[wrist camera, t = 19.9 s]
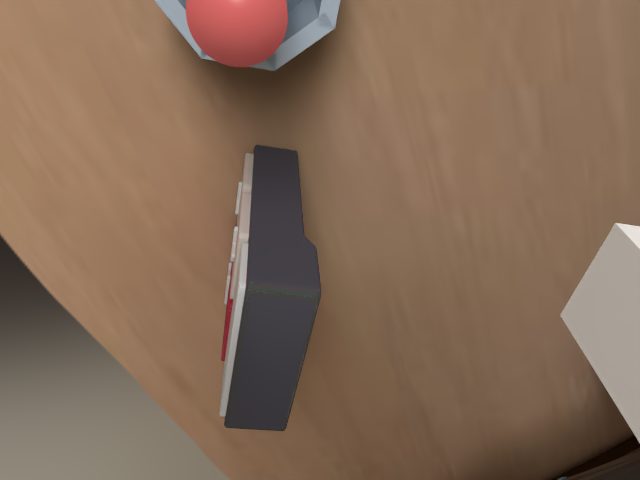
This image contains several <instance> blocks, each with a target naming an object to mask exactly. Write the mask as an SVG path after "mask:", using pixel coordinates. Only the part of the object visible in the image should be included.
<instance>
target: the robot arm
mask: <svg viewBox="0 0 640 480" xmlns="http://www.w3.org/2000/svg"><path fill="white" fill-rule="evenodd" d="M560 316H561V317H562V319H563V321H564V322H565V324H566V325H567V327H568V329H569V330H570V332H571V333H572V335H573V337H574V338H575V340H576V341H577V343H578V345H579V346H580V348H581V350H582V351H583V353H584V354H585V356H586V358H587V359H588V361H589V362H590V364H591V366H592V367H593V369H594V370H595V372H596V374H597V375H598V377H599V378H600V380H601V382H602V383H603V385H604V387H605V388H606V390H607V391H608V393H609V395H610V396H611V398H612V399H613V401H614V403H615V404H616V406H617V407H618V409H619V411H620V412H621V414H622V415H623V417H624V419H625V420H626V422H627V424H628V425H629V427H630V428H631V430H632V432H633V433H634V435H635V436H636V438H637V440H638V441H639V443H640V226H633V225H626V224H619V223H615V224H614V226H613V228H612V229H611V231H610V233H609V234H608V236H607V238H606V239H605V241H604V243H603V244H602V246H601V248H600V249H599V251H598V253H597V254H596V256H595V258H594V260H593V261H592V263H591V265H590V266H589V268H588V270H587V271H586V273H585V275H584V276H583V278H582V280H581V281H580V283H579V285H578V286H577V288H576V290H575V291H574V293H573V295H572V296H571V298H570V300H569V301H568V303H567V305H566V306H565V308H564V310H563V311H562V313H561V315H560ZM557 480H640V451H638V452H635V453H633V454H630V455H627V456H625V457H622V458H620V459H617V460H614V461H612V462H609V463H606V464H604V465H601V466H598V467H596V468H593V469H590V470H588V471H585V472H582V473H579V474H576V475H574V476H571V477H568V478H567V477H561V478H559V479H557Z"/></svg>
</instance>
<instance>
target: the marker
mask: <svg viewBox="0 0 640 480" xmlns="http://www.w3.org/2000/svg"><path fill="white" fill-rule="evenodd" d="M186 19H187V24H188V27H189V30H190V33H191V35H192V37H193V39H194V40H195V42H196V43H197V45H198V46H199V47H200V48H201V50H202V51H203V52H204V53H206V54H207V55H208V56H209V57H211V58H212V59H214V60H215V61H217V62H219V63H222V64H224V65H228V66H233V67H249V66H253V65H256V64H259V63H261V62H263V61H265V60H266V59H268V58H269V57H270V56H271V55H272V54H273V53H274V52H275V51H276V50H277V49H278V48H279V46H280V44H281V43H282V41H283V39H284V36H285V33H286V30H287V24H288V12H287V2H286V0H187V1H186Z"/></svg>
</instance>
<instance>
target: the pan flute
mask: <svg viewBox="0 0 640 480" xmlns="http://www.w3.org/2000/svg"><path fill="white" fill-rule="evenodd" d="M638 451H640V443H639V441H638V440H637V438H636V436H635V437H633V438H631V439H629V440H627V441H625V442H623V443H622V444H620V445H618V446H616V447H614V448H612V449H610V450H608V451H607V452H605V453H603V454H601V455H599V456H597V457H595V458H593V459H592V460H590V461H588V462H586V463H584V464H582V465H580V466H579V467H577V468H575V469H573V470H571V471H569V472H567V473H565V474H564V475H562V476H560V477H558V478H556V479H554V480H557V479H559V478H561V477H567V478H568V477H571V476H574V475H576V474H579V473H582V472H585V471H588V470H590V469H593V468H596V467H598V466H601V465H604V464H606V463H609V462H612V461H614V460H617V459H620V458H622V457H625V456H627V455H630V454H633V453H635V452H638Z"/></svg>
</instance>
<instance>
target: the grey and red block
mask: <svg viewBox="0 0 640 480" xmlns="http://www.w3.org/2000/svg"><path fill="white" fill-rule="evenodd" d="M235 214H237V215H238V216H237V221H236V226H235V228H234V233H233V242H232V250H231V258H230V261H231V262H229V267H228V275H227V282H226V293H225V300H224V305H227V307H226V317H225V327H224V337H223V347H222V357H221V360H222V361H225V362H224V369H223V380H222V390H221V401H220V412H219V415H220V417H225V423H224V425H225V427H226V428H239V429H256V430H274V431H284V430H285V429H286V426H287V423H288V419H289V415H290V411H291V407H292V404H293V400H294V396H295V392H296V388H297V385H298V381H299V377H300V373H301V370H302V366H303V362H304V358H305V354H306V351H307V347H308V343H309V339H310V336H311V332H312V328H313V324H314V320H315V317H316V313H317V309H318V305H319V301H320V297H321V285H320V276H319V267H318V258H317V250H316V247H315V246H314V245H313V244H312V243H311V242H310V241H309V240H308V239H307V238H306V237H305V236H304V227H303V215H302V203H301V191H300V179H299V167H298V155H297V152H296V151H293V150H287V149H280V148H273V147H267V146H260V145H256V146H255V148H254V154H251V153H246V154H245V161H244V168H243V176H242V182H239V187H238V194H237V202H236V210H235Z"/></svg>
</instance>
